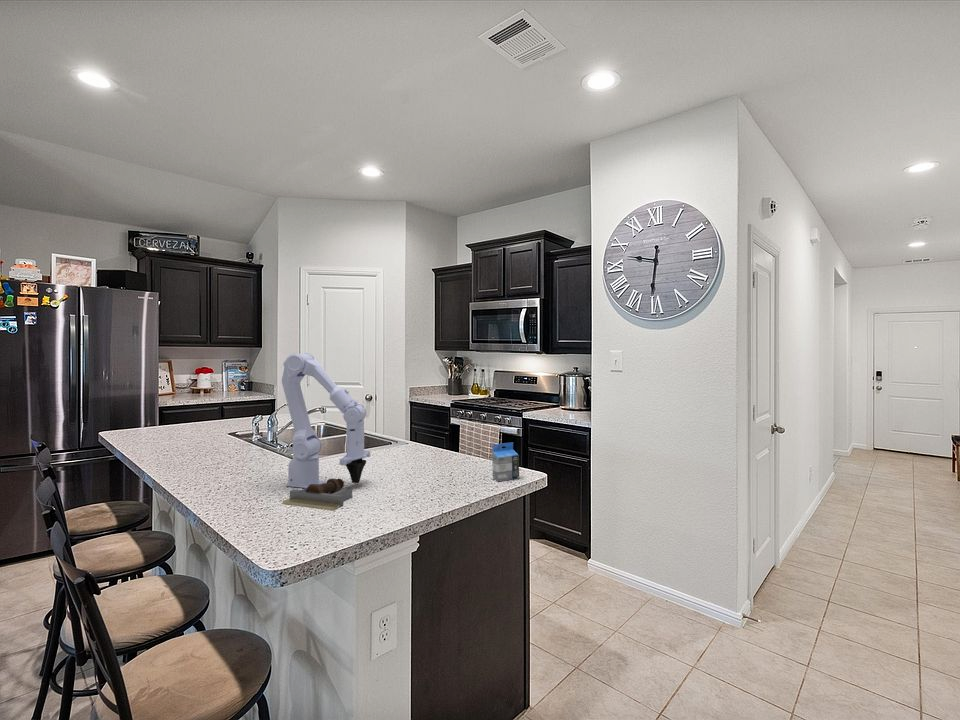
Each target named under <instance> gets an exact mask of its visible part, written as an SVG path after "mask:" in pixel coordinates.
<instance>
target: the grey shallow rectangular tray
mask: <svg viewBox="0 0 960 720" xmlns="http://www.w3.org/2000/svg"><path fill="white" fill-rule="evenodd" d="M319 485H322V484H319ZM306 489H307V488H303V489H302V488H301V489H291V490H289V498H287V499H283V500H282V501H281V502H282V504H283V505H289V506H298V507H299V506H300V507H305V508H313V509H321V510H329V511H335V510H338V509H340V508H342V507H344V502H345V501H347V500H349V499H352V498H353V487H349V486H347V487H345V488H341V489H339V491H338V492H335V493H328V494H327V493H318V492H310V491H306Z"/></svg>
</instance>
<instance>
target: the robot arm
mask: <svg viewBox="0 0 960 720" xmlns="http://www.w3.org/2000/svg"><path fill="white" fill-rule="evenodd" d="M283 368H284V369H283V372H282V376H281V384H282V388H283V392H284V395H285V400H286V404H287V407H288V411H289V416H290V419H291V423H292V426H293V430H294V435H293V437H292V439H291V440H292V455H293V458H292V459H291V460H290V461H289V463H288V468H287V469H288V470H287V471H288V483H287V484H286V486H287V487H293V488H301V489H302V488H303V489H305V488H307V487H308V486H309V485H310V484H321V485H322V484H325V483H326V481H324V480H320V471H319V470H320V459H319V458H320V455H319V453H320V452H321V451H322V448H323V444H322V441H321V439H320V438H319V437H318V435H317V432H316V431H315V430H314V429H313V428H312V425H311V421H310V418H309V414H308V408H307V406H306V403H305V399H304V394H303V392H302V387H301V382H302V380H303V379H304V377H305V376H309V377H313V378H314V379H315V381H317V382H318V384H320V386H321V387H323V388H324V389H325V390H326V392H328V394H329V400H330V401H331V402H332V404H333V405H334V406H336V408H337V409H338V411H340V412H341V413H342V414H343V415H342V418H343V420H344V421H345V423H346V428H345V429H346V455H344V456H343V457H342V458H339V466H345V468H346V469H347V470H348V473H349V475H350V480H351V482H352V483H353V484H358V483H360V482H361V477H362V473H363V471H364V467H366V464H367V460H366V459H367V458H370V457H371V451H370V450H365V419H366V417H367V409H365V406H364V405H363V404H360V403H359V401H357V400H355V398H353V397H352V396H351V394H350V391H349V390H348V388H346V389H345V388H344V387H340V386H338V385H337V384H336V382H334V380H333V379H332V378H331V376H330V375H329V374H328V373H327V372H326V370H325V369H324V367H323V366H322V365H321V363H320V362H319V361H318V360H317V359H315V357H314V355H312V354H310V353H307V352H306V353H291V354H289V355H288V356H287V357H286V359H285V360H284V362H283ZM365 458H366V459H365Z"/></svg>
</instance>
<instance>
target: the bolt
mask: <svg viewBox="0 0 960 720" xmlns="http://www.w3.org/2000/svg"><path fill="white" fill-rule="evenodd" d="M344 486H345V481H344V480H343V479H341V478H328V479H327V481H325V483H323V484H321V485H319V484H310V485H309V486H308V487H307V489H306V491H310V492H318V493H327V494H333V493H335V492H338V491H340V490H341V489H343V488H344Z"/></svg>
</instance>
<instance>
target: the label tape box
mask: <svg viewBox="0 0 960 720" xmlns="http://www.w3.org/2000/svg"><path fill="white" fill-rule="evenodd" d="M491 453H492V454H491V457H492V458H491V459H492V460H491V461H492V480H493V479H494V480H493V481H495V480H496V482H498V481H500V482H504V481H510V480H515V479H517V480H518V479H520V455H519V454H518V452H516V451H515V449H514V442H504V443H496V444H492V452H491Z"/></svg>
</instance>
